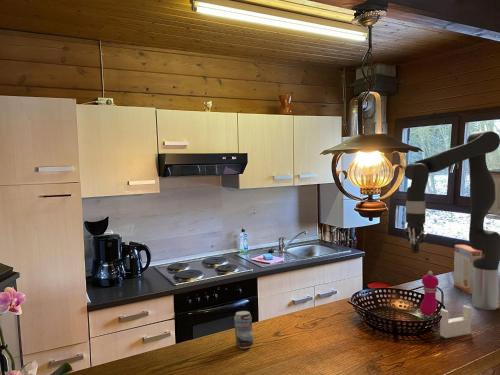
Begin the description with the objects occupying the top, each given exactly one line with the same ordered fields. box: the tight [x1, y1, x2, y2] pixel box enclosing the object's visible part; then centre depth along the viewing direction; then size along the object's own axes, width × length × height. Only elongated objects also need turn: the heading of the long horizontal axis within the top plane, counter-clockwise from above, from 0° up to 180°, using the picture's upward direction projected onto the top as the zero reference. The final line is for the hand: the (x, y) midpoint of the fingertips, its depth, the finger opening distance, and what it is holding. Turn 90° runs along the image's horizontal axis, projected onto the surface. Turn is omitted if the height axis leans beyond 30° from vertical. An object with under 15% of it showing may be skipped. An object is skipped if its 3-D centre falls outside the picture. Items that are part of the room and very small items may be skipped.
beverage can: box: [233, 310, 254, 349], centre depth 133 cm, size 6×7×12 cm
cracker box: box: [453, 244, 483, 295], centre depth 184 cm, size 14×6×21 cm, turn 179°
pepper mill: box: [419, 270, 439, 315], centre depth 151 cm, size 7×7×20 cm
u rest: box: [439, 305, 472, 339], centre depth 139 cm, size 11×2×10 cm, turn 106°
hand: (414, 252), depth 158 cm, fingers closed
